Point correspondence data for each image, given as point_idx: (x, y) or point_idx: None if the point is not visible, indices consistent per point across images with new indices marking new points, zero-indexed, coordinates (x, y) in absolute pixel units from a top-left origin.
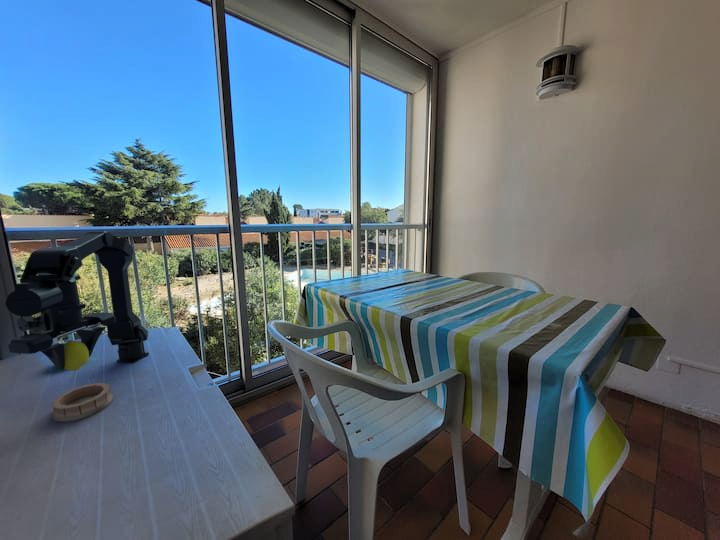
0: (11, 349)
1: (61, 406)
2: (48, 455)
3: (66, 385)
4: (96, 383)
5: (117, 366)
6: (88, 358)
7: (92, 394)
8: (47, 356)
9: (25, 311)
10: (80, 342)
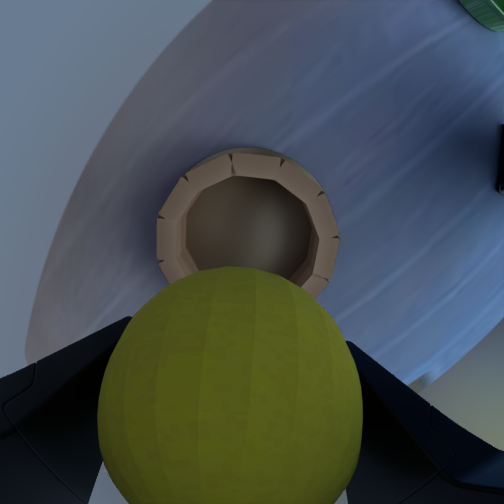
0: None
1: (167, 238)
2: (83, 307)
3: (379, 44)
4: (333, 235)
5: (485, 144)
6: (499, 31)
7: (304, 219)
8: (13, 382)
9: None
10: None
